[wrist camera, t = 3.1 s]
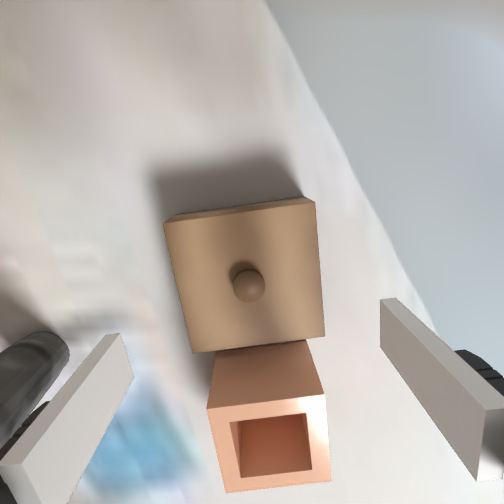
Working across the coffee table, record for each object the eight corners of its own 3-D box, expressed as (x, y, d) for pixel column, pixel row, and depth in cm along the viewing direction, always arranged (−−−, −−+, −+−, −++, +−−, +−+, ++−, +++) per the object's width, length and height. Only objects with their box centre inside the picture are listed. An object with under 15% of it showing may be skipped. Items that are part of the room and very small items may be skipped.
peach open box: (230, 422, 31) (225, 493, 24) (216, 352, 29) (206, 409, 22) (313, 412, 31) (331, 480, 24) (306, 340, 28) (324, 394, 22)
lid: (199, 330, 27) (190, 359, 23) (174, 215, 24) (159, 225, 20) (315, 315, 27) (327, 342, 23) (305, 197, 24) (317, 203, 20)
